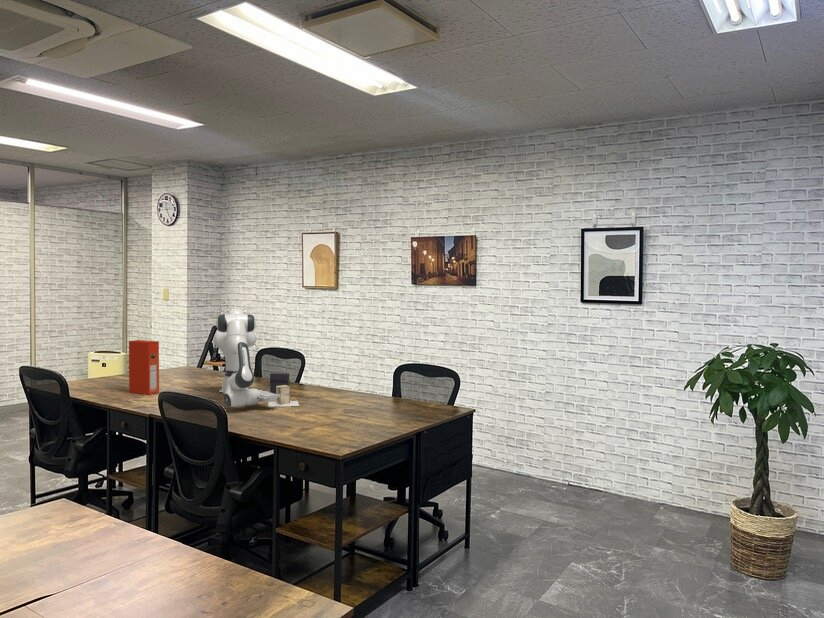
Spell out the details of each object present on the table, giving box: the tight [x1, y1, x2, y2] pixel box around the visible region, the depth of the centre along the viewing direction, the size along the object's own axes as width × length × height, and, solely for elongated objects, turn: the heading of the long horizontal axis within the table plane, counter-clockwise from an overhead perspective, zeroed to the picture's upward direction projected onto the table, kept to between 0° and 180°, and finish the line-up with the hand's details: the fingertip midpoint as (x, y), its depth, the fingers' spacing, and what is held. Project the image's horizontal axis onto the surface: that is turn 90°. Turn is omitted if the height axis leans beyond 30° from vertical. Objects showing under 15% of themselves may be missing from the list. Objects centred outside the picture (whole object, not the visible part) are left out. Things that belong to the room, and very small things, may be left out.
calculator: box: [269, 372, 290, 394], centre depth 382 cm, size 11×4×15 cm, turn 84°
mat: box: [267, 400, 300, 408], centre depth 364 cm, size 14×17×1 cm
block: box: [275, 385, 291, 405], centre depth 363 cm, size 5×6×10 cm
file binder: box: [128, 339, 160, 396], centre depth 391 cm, size 8×17×32 cm, turn 62°
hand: (275, 394), depth 360 cm, fingers open, 8 cm apart
